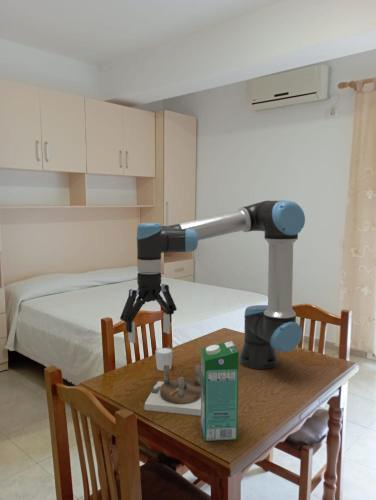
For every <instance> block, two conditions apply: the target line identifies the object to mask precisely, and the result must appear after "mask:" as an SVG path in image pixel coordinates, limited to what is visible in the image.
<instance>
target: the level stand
mask: <svg viewBox="0 0 376 500" xmlns="http://www.w3.org/2000/svg"><path fill="white" fill-rule="evenodd" d="M162 384H164V381H158V380H157V383H155V385H154V386H153V389H152V390H151V391H150V394H149V395H148V397H147V398H146V401H145V402H144V404H143V408H144V410H145V411H152V412H161V413H171V414H180V415H187V416H189V415H191V416H197V417H198V416H199V417H201V397H200V398H199V399H198V400H196V401H193V402H190V403H172V402H168V401H166V400H164V399H163V398H162V397H161V395H160V387H161V385H162Z"/></svg>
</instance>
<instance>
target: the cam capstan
mask: <svg viewBox="0 0 376 500" xmlns="http://www.w3.org/2000/svg"><path fill="white" fill-rule="evenodd" d="M163 382H164V384H162V385H161V387H160V395H161V397H162V398H163V399H164V400H166V401H168V402H172V403H190V402H193V401H196V400H198V399H199V398H200V397H201V365H199V364H197V365H195V366H194V380H192V379H189V378H187V379H186V378H185V377H183V376H179V377H178V378H175V379H170V370H169V365H164V371H163Z"/></svg>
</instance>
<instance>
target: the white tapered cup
mask: <svg viewBox="0 0 376 500" xmlns="http://www.w3.org/2000/svg"><path fill="white" fill-rule="evenodd" d="M154 352H155V361H156V362H155V364H156V369H157V371H162V372H164V365H169V371H170V370H172V364H173V354H174V353H173V352H174V350H173V349H172V348H169V347H159V348H157V349H155V350H154Z"/></svg>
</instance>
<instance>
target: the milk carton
mask: <svg viewBox="0 0 376 500" xmlns="http://www.w3.org/2000/svg"><path fill="white" fill-rule="evenodd" d="M239 363H240V352H239V350H238V347H236V344H235V343H234V341H233V340H228V341H224V342H222V343H217V344H211V345H209V346H206V347H204V348H201V349H200V385H201V416H200V424H201V425H200V426H201V429H202V434H203V439H204V441H205V442H209V441H210V442H211V441H214V442H215V441H227V440H228V441H229V440H230V441H232V440H233V441H234V440H238V431H239V430H238V428H239V427H238V425H239V424H238V423H239V422H238V421H239V419H238V418H239V416H238V415H239V413H238V411H239Z"/></svg>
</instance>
